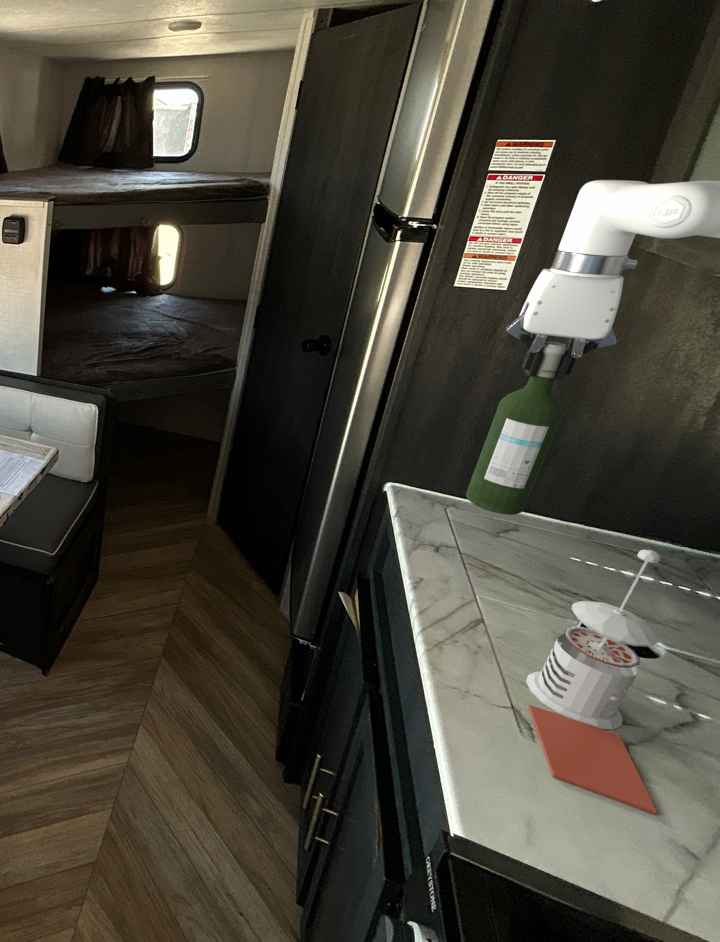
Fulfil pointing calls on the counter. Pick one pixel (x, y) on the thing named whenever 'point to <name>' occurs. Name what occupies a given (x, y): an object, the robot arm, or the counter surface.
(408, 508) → the counter surface
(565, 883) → the counter surface
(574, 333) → the robot arm
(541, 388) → the wine bottle
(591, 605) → the french press
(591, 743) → the napkin
